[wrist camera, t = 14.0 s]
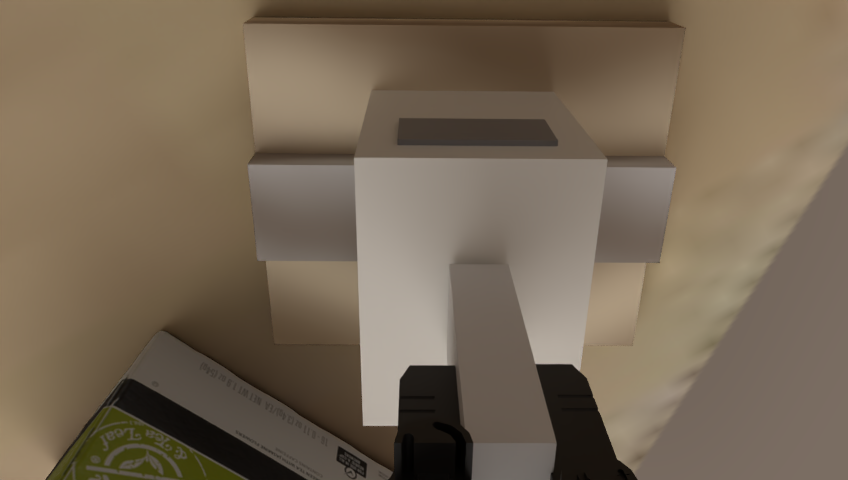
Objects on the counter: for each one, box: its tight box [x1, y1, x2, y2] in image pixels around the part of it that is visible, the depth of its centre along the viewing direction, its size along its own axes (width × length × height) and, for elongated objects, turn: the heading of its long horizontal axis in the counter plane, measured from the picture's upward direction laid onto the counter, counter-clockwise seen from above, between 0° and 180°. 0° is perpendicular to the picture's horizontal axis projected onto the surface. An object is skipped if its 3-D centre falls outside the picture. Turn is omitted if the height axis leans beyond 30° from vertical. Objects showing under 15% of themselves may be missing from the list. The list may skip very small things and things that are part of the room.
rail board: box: [243, 17, 686, 346], centre depth 24 cm, size 12×14×3 cm
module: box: [354, 90, 608, 426], centre depth 21 cm, size 8×6×7 cm
